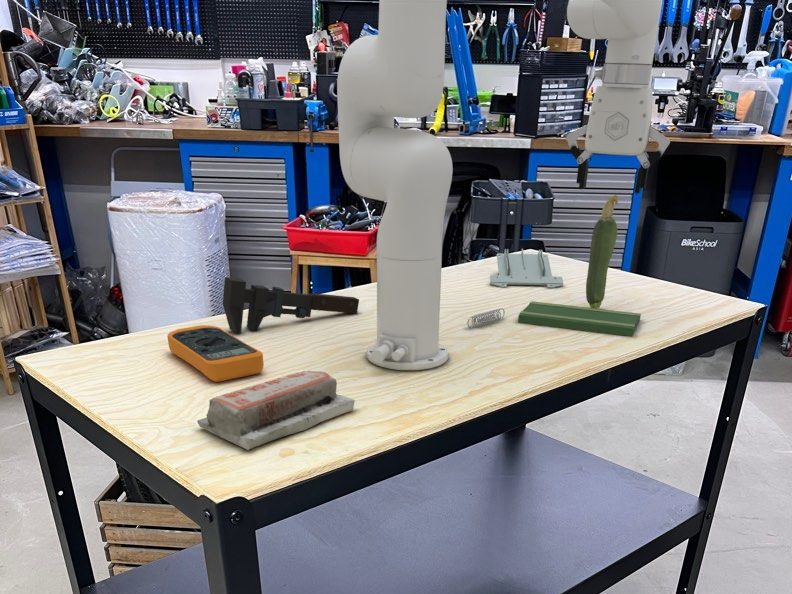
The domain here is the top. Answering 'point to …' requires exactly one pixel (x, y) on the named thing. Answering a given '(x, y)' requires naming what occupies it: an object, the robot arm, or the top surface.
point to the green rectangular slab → (580, 318)
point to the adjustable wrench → (276, 303)
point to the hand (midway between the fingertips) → (609, 190)
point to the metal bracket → (524, 270)
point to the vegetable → (601, 254)
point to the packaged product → (275, 408)
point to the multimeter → (215, 352)
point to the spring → (486, 317)
